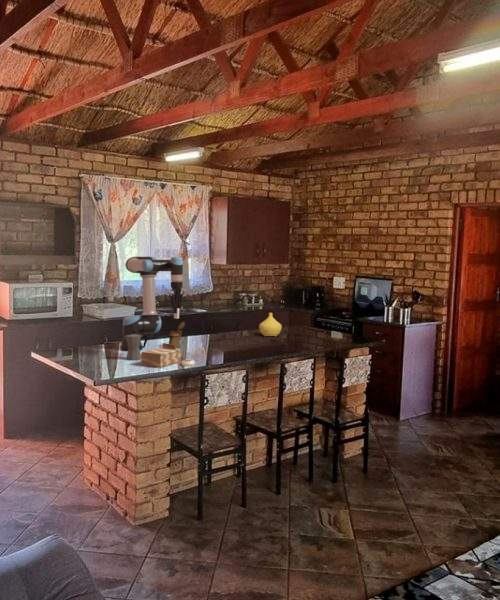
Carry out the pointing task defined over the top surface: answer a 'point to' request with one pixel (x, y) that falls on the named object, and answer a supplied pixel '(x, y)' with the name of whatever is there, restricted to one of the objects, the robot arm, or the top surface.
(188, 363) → the tape roll
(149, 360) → the box
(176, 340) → the wooden mug
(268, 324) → the vase
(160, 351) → the lid
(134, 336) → the coffeepot
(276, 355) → the top surface
